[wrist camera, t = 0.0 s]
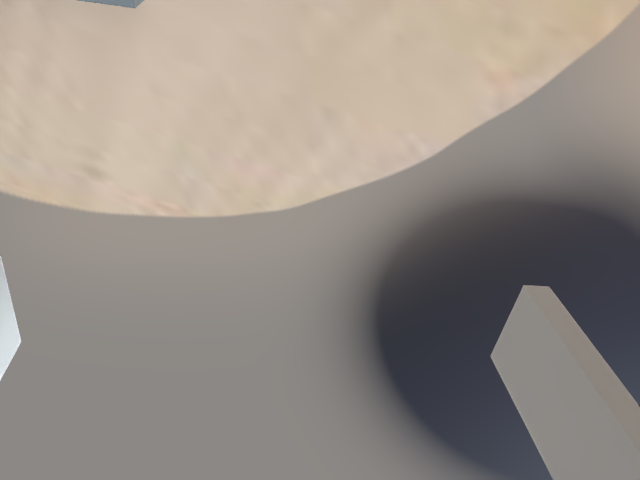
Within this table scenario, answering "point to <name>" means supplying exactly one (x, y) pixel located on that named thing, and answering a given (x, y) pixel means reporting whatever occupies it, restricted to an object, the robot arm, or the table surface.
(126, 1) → the panel
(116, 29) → the table surface
